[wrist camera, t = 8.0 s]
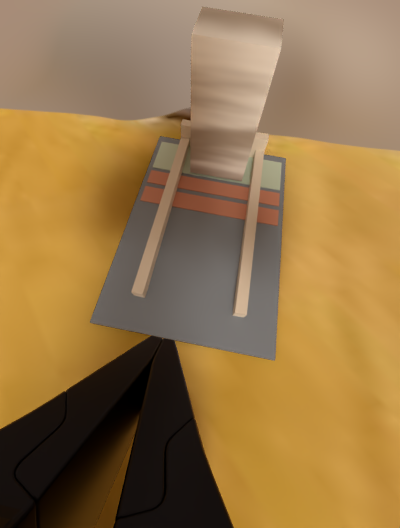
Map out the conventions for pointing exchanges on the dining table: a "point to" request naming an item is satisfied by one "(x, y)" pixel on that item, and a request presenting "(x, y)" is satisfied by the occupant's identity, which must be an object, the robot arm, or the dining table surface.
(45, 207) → the dining table surface
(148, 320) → the track
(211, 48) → the cream block
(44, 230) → the dining table surface
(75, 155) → the dining table surface
